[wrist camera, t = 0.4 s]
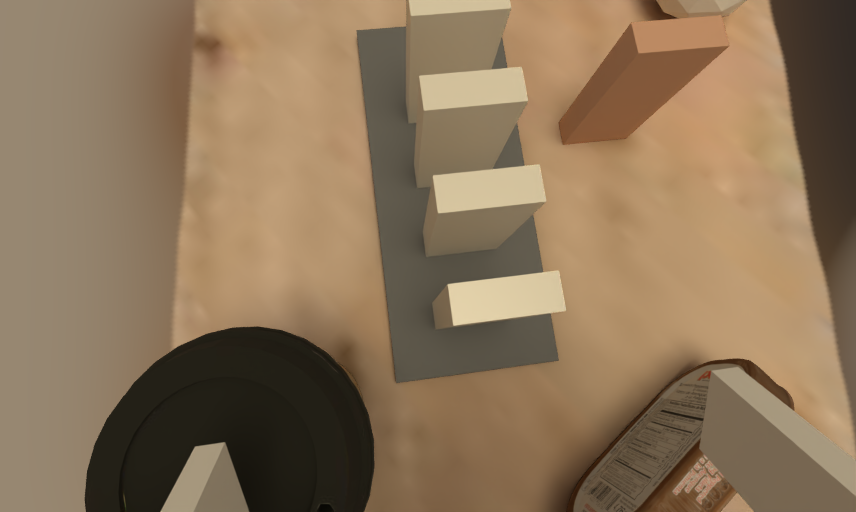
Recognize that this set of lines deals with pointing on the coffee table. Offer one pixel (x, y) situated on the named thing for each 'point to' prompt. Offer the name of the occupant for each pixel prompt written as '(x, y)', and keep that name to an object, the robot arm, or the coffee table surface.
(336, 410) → the coffee cup
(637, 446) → the tin
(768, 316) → the coffee table surface
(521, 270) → the mat
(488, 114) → the domino
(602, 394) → the coffee table surface
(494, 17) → the domino
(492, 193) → the domino
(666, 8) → the geometric ball
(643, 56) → the domino
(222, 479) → the robot arm
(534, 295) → the domino
